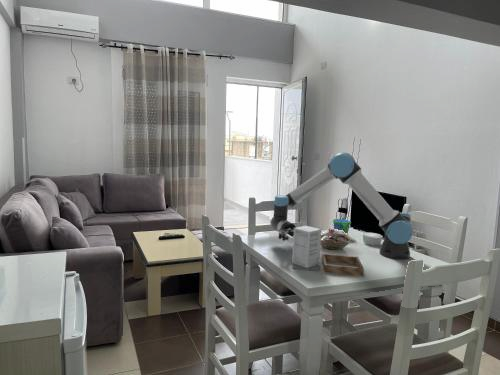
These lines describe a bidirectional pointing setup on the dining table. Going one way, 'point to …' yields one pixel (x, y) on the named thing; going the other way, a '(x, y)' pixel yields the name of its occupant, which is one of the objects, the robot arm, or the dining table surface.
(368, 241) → the ramekin
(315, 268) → the grey pad
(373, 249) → the dining table surface
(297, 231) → the supplement box
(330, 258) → the walnut crate
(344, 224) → the snack cup
